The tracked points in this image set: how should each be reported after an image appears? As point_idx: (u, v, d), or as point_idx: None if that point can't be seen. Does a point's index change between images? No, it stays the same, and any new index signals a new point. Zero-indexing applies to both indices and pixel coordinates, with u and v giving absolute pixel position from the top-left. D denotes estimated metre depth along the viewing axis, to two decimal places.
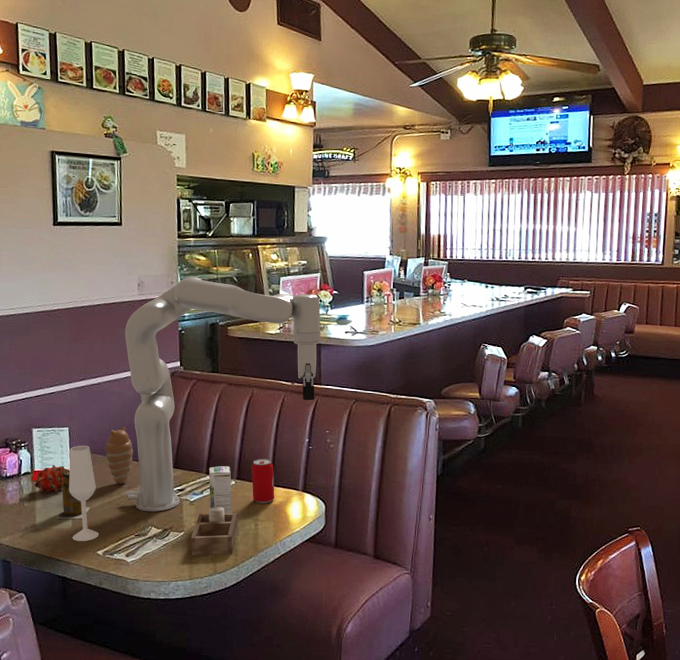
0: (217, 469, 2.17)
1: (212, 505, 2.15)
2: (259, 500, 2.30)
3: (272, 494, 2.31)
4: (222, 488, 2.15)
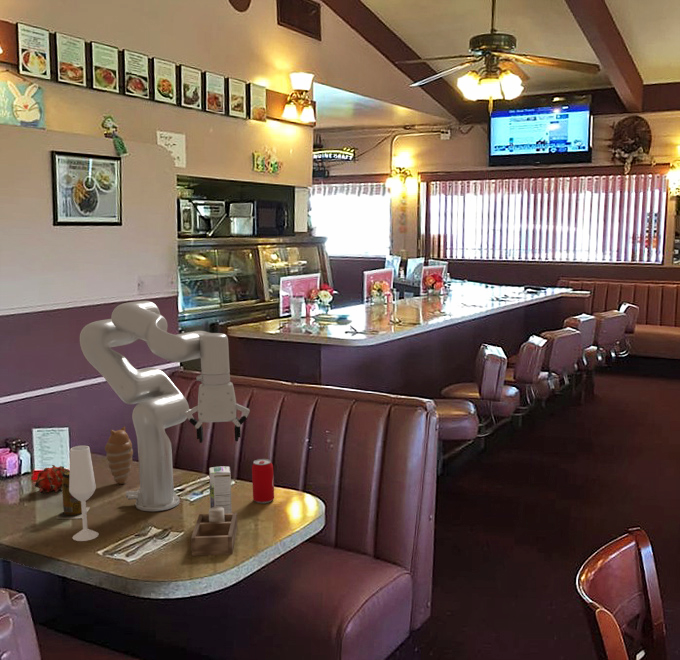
0: (217, 469, 2.17)
1: (212, 505, 2.15)
2: (259, 500, 2.30)
3: (272, 494, 2.31)
4: (222, 488, 2.15)
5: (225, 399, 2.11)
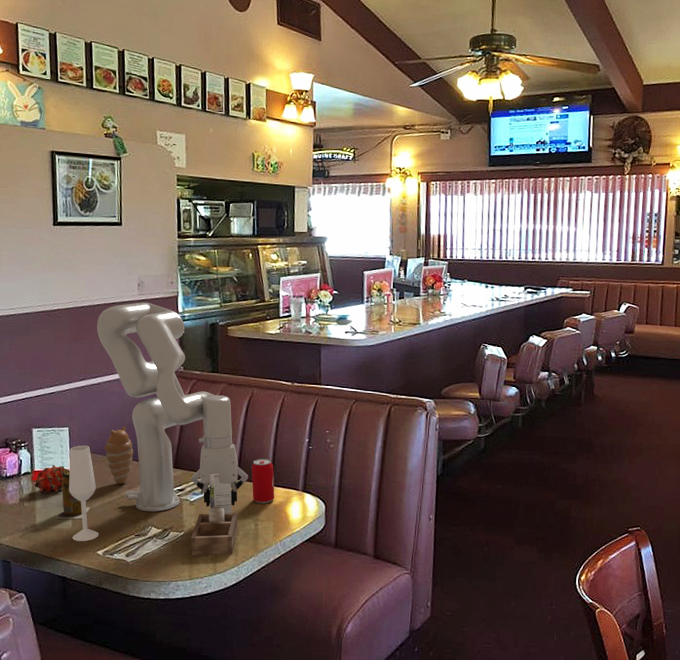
0: None
1: (212, 505, 2.15)
2: (259, 500, 2.30)
3: (272, 494, 2.31)
4: (222, 488, 2.15)
5: (227, 462, 2.14)
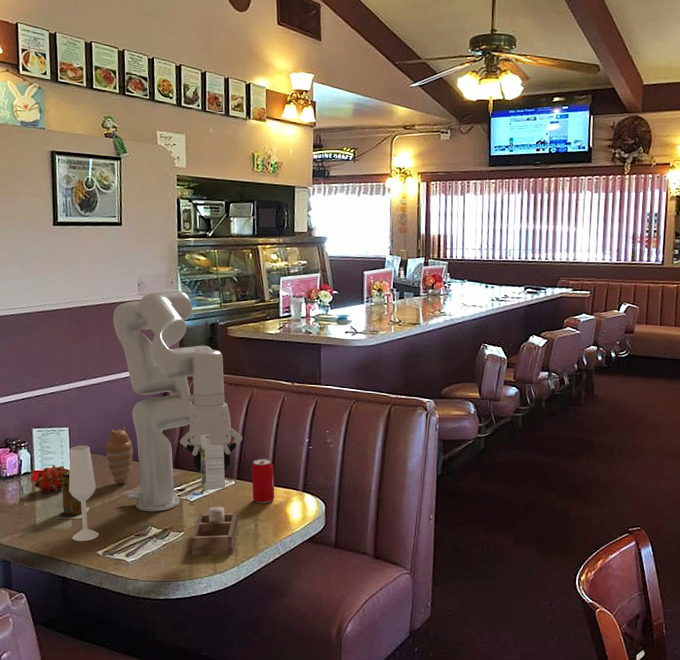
0: None
1: (203, 469, 1.97)
2: (259, 500, 2.30)
3: (272, 494, 2.31)
4: (214, 450, 1.97)
5: (219, 421, 1.96)
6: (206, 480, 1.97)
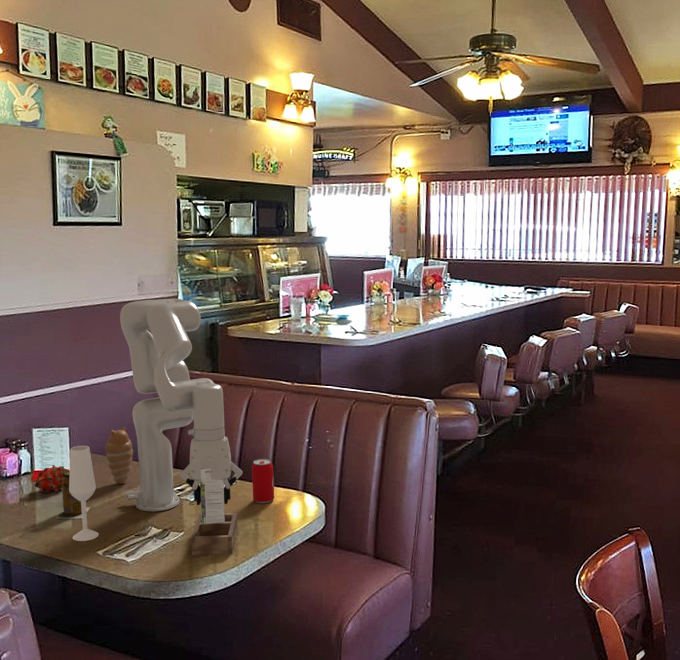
0: None
1: (203, 503, 1.96)
2: (259, 500, 2.30)
3: (272, 494, 2.31)
4: (213, 485, 1.96)
5: (219, 456, 1.95)
6: (206, 515, 1.96)
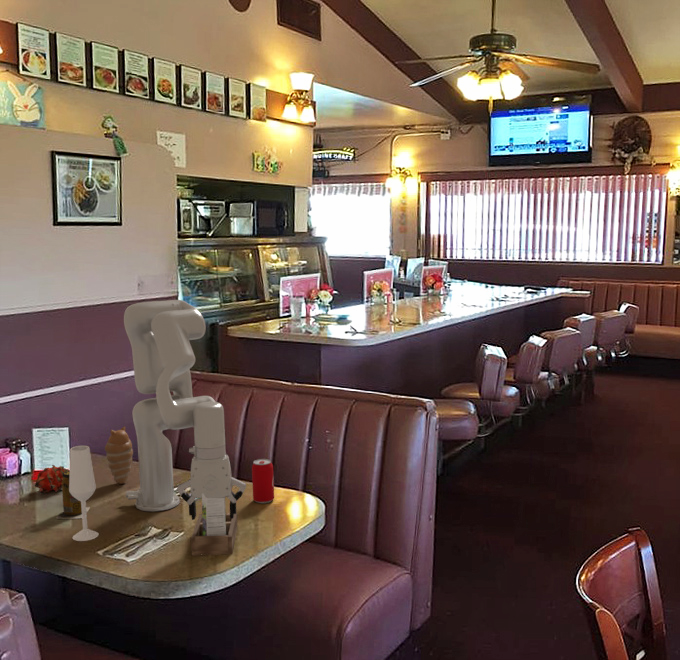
0: None
1: (204, 527, 1.97)
2: (259, 500, 2.30)
3: (272, 494, 2.31)
4: (215, 508, 1.97)
5: (220, 474, 1.95)
6: None
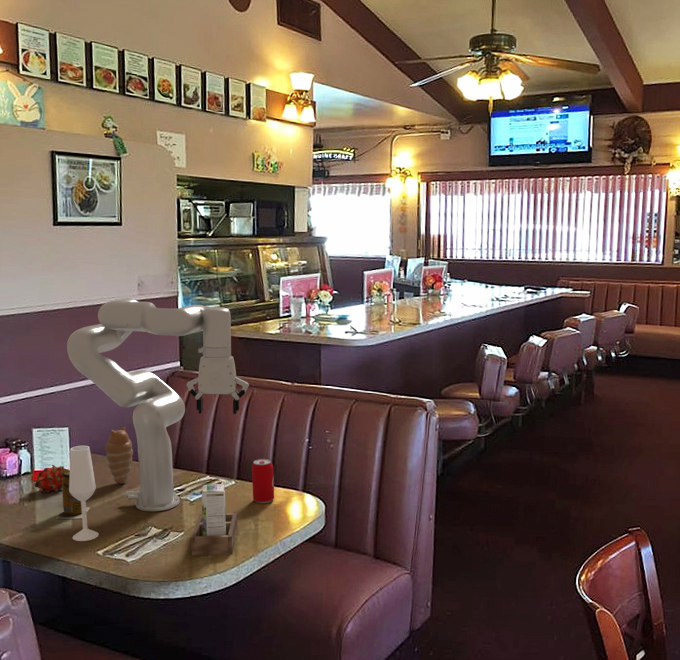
0: (210, 487, 1.99)
1: (204, 527, 1.97)
2: (259, 500, 2.30)
3: (272, 494, 2.31)
4: (215, 508, 1.97)
5: (225, 372, 2.16)
6: None
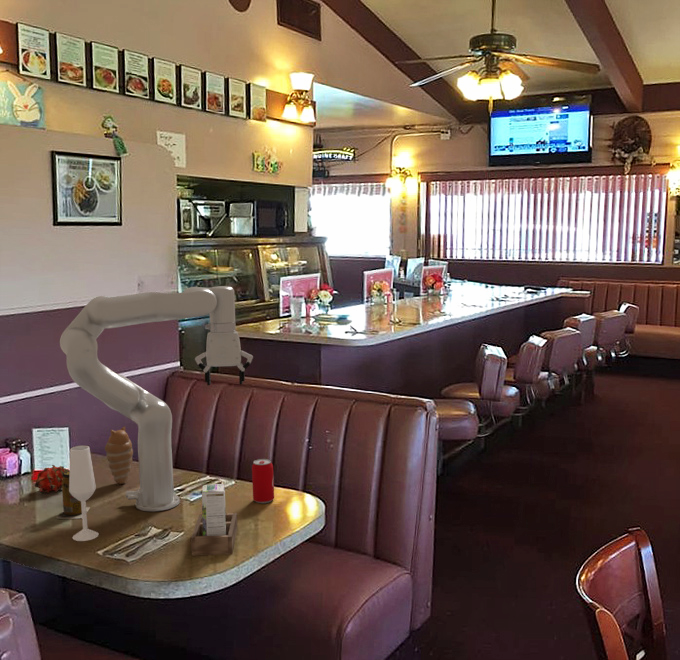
0: (210, 487, 1.99)
1: (204, 527, 1.97)
2: (259, 500, 2.30)
3: (272, 494, 2.31)
4: (215, 508, 1.97)
5: (231, 345, 2.33)
6: None
